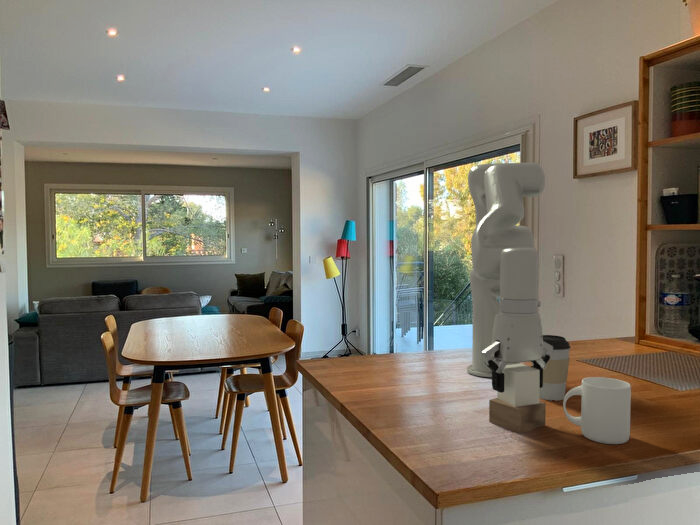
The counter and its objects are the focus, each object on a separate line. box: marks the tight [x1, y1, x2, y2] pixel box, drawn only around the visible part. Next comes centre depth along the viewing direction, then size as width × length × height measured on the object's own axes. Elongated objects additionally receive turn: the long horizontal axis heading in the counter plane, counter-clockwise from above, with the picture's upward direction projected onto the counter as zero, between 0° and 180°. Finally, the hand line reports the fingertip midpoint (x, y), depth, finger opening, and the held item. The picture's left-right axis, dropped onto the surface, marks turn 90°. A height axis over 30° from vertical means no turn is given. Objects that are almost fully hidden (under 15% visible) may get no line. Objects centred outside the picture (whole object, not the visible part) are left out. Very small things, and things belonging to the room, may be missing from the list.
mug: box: [562, 376, 632, 445], centre depth 104 cm, size 9×12×11 cm
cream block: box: [496, 363, 540, 407], centre depth 111 cm, size 6×6×7 cm
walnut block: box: [488, 397, 547, 434], centre depth 111 cm, size 8×8×5 cm
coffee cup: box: [539, 334, 571, 401], centre depth 130 cm, size 9×9×15 cm
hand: (517, 388), depth 111 cm, fingers open, 9 cm apart
